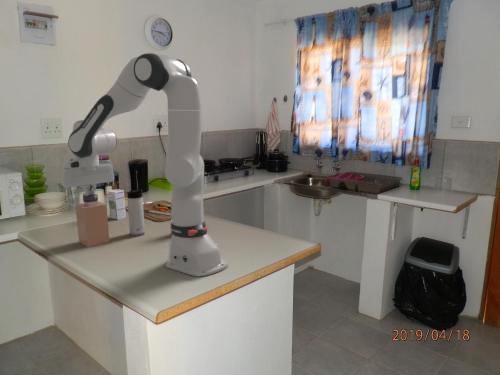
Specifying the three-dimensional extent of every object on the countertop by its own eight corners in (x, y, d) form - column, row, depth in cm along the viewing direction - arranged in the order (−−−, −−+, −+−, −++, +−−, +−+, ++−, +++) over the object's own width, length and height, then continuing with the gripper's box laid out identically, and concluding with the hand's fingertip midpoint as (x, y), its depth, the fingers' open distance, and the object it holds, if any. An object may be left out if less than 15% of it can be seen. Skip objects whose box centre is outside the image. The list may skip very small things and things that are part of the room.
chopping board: (206, 214, 203) (206, 209, 203) (161, 224, 185) (161, 218, 184) (161, 201, 235) (160, 196, 235) (119, 209, 217) (119, 203, 216)
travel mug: (141, 236, 166) (138, 191, 162) (127, 235, 167) (124, 190, 163) (148, 232, 172) (145, 188, 168) (134, 231, 173) (131, 187, 169)
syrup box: (126, 217, 197) (124, 189, 194) (117, 220, 192) (114, 191, 189) (119, 216, 200) (117, 188, 197) (109, 218, 195) (107, 190, 192)
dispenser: (109, 242, 159) (106, 200, 156) (87, 247, 153) (83, 204, 150) (100, 237, 165) (97, 197, 162) (79, 242, 159) (75, 200, 156)
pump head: (102, 224, 158) (99, 195, 155) (88, 226, 154) (85, 197, 152) (93, 219, 164) (90, 192, 162) (80, 222, 160) (77, 194, 158)
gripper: (109, 158, 162) (111, 190, 165) (57, 163, 148) (61, 198, 151) (115, 159, 158) (118, 192, 160) (63, 164, 144) (66, 200, 146)
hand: (90, 195), depth 155 cm, fingers closed, pressing on pump head
